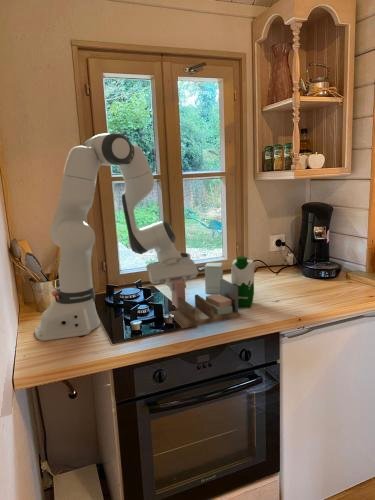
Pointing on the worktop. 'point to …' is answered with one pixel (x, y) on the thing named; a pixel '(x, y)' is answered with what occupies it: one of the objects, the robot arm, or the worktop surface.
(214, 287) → the supplement box
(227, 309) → the toppled books
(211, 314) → the walnut book rack
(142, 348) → the worktop surface
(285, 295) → the worktop surface
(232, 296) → the dark metal bookend
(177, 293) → the rose book
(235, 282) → the milk carton
